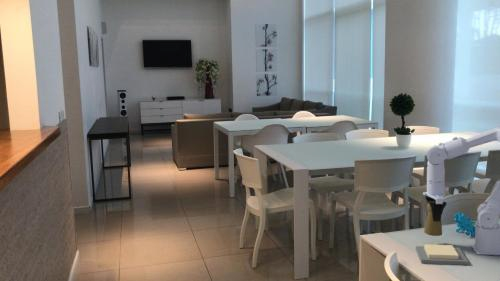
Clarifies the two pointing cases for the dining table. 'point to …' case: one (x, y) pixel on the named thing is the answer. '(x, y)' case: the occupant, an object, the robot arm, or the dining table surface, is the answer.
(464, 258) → the grey flat slab
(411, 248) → the dining table surface
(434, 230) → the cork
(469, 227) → the blue lumpy cluster
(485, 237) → the robot arm
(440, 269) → the dining table surface
